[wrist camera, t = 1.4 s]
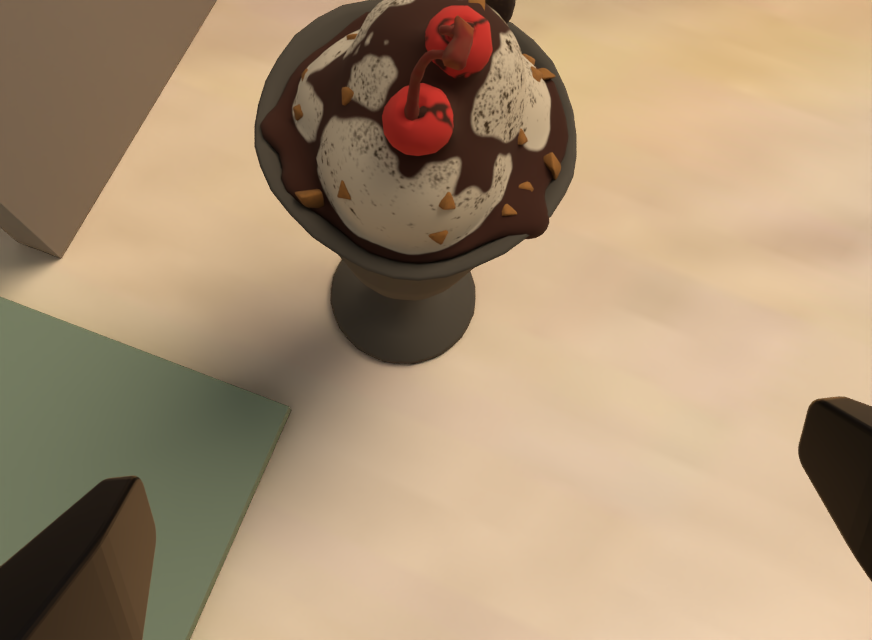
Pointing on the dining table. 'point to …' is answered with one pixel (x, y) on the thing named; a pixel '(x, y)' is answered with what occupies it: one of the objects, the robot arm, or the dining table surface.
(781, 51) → the dining table surface
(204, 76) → the dining table surface
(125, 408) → the rubber mat
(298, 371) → the dining table surface
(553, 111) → the sundae
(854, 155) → the dining table surface
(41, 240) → the partition board
